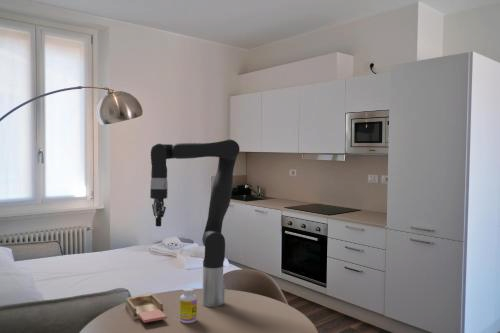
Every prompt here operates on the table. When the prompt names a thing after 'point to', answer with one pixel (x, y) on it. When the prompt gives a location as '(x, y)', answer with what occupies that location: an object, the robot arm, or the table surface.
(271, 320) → the table surface
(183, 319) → the supplement bottle
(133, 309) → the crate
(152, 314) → the panel
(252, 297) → the table surface
